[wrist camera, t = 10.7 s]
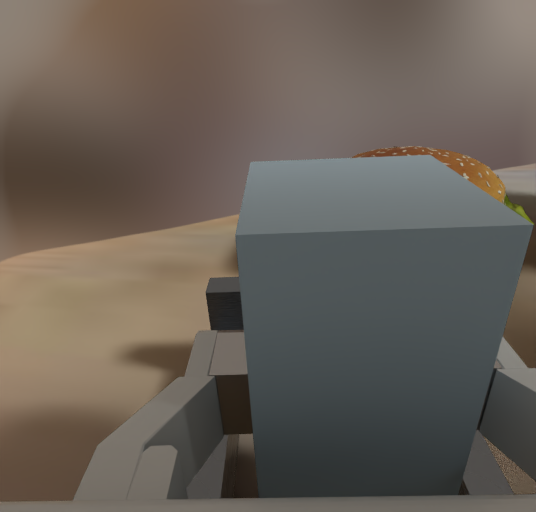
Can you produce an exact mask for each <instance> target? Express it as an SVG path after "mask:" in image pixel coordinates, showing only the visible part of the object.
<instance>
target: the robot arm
mask: <svg viewBox="0 0 536 512" xmlns="http://www.w3.org/2000/svg"><path fill="white" fill-rule="evenodd" d="M476 430H479V432H480V433H481V434H482V435H483V436H484V437H486V438H487V439H488V440H489V441H490V442H491V443H492V444H494V445H495V446H496V447H497V448H498V449H499V450H500V451H502V452H503V453H504V454H505V455H506V456H507V457H508V458H510V459H511V460H512V461H513V462H514V463H515V464H516V465H518V466H519V467H520V468H521V469H522V470H523V471H525V472H526V473H527V474H528V475H529V476H530V477H531V478H533V479H534V480H535V481H536V368H528V367H527V366H526V365H525V363H524V362H523V361H522V360H521V358H520V357H519V356H518V355H517V353H516V352H515V351H514V350H513V348H512V347H511V346H510V345H509V344H508V342H507V341H506V340H505V339H504V337H503V336H502V340H501V343H500V347H499V351H498V354H497V358H496V361H495V365H494V368H493V372H492V376H491V379H490V383H489V386H488V390H487V393H486V397H485V400H484V404H483V408H482V411H481V415H480V418H479V422H478V425H477V429H476ZM234 434H253V428H252V417H251V405H250V394H249V383H248V371H247V360H246V349H245V338H244V330H219V331H218V330H207V331H198V333H197V334H196V336H195V340H194V344H193V347H192V351H191V354H190V358H189V361H188V365H187V369H186V372H185V376H184V377H178V378H176V379H175V380H174V381H173V382H172V383H170V384H169V385H168V386H167V387H166V388H165V389H163V390H162V391H161V392H160V393H159V394H157V395H156V396H155V397H154V398H153V399H151V400H150V401H149V402H148V403H147V404H146V405H144V406H143V407H142V408H141V409H140V410H138V411H137V412H136V413H135V414H134V415H133V416H131V417H130V418H129V419H128V420H127V421H125V422H124V423H123V424H122V425H121V426H119V427H118V428H117V429H116V430H115V431H114V432H112V433H111V434H110V435H109V436H108V437H106V438H105V439H104V440H103V441H102V442H100V443H99V444H98V445H97V448H96V450H95V452H94V454H93V456H92V459H91V461H90V463H89V465H88V467H87V470H86V472H85V474H84V476H83V478H82V481H81V483H80V485H79V487H78V489H77V492H76V494H75V496H74V498H73V501H11V502H0V512H536V494H504V495H433V496H361V497H290V498H220V499H188V496H187V491H186V488H187V487H188V485H189V484H190V482H191V481H192V480H193V478H194V477H195V476H196V474H197V473H198V472H199V470H200V469H201V467H202V466H203V465H204V463H205V462H206V461H207V459H208V458H209V457H210V455H211V454H212V452H213V451H214V450H215V448H216V447H217V446H218V444H219V443H220V442H221V440H222V439H223V437H224V436H223V435H234Z"/></svg>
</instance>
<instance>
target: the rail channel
mask: <svg viewBox="0 0 536 512" xmlns="http://www.w3.org/2000/svg"><path fill="white" fill-rule="evenodd" d="M206 298H207V305H208V312H209V319H210V326H211V330H218V331H219V330H244V326H243V315H242V304H241V293H240V281H239V277H223V278H210V279H209V283H208V286H207V290H206ZM223 436H224V437H223V439H222V440H221V442H220V443H219V444H218V446H217V447H216V448H215V450H214V451H213V452H212V454H211V455H210V457H209V458H208V459H207V461H206V462H205V463H204V465H203V466H202V467H201V469H200V470H199V472H198V473H197V474H196V476H195V477H194V478H193V480H192V481H191V482H190V484H189V485H188V487H187V488H186V491H187V496H188V499H220V498H233V496H234V485H235V474H236V463H237V453H238V442H239V434H234V435H223ZM504 494H514V493H513V491H512V490H511V488H510V486H509V484H508V482H507V480H506V478H505V476H504V475H503V473H502V471H501V469H500V467H499V465H498V463H497V461H496V460H495V458H494V456H493V454H492V452H491V450H490V448H489V447H488V445H487V443H486V441H485V439H484V437H483V435H482V434H481V433H480V432H479V430H476V433H475V436H474V440H473V443H472V447H471V450H470V454H469V458H468V461H467V465H466V468H465V472H464V475H463V479H462V482H461V486H460V490H459V493H458V495H504Z"/></svg>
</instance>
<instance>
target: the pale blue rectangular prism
mask: <svg viewBox="0 0 536 512" xmlns="http://www.w3.org/2000/svg"><path fill="white" fill-rule="evenodd" d="M533 226H534V225H533V224H532V223H530V222H529V221H528V220H526V219H525V218H523V217H522V216H520V215H519V214H517V213H516V212H514V211H513V210H511V209H510V208H508V207H507V206H505V205H504V204H502V203H501V202H499V201H498V200H496V199H495V198H493V197H492V196H491V195H489V194H488V193H486V192H485V191H483V190H482V189H480V188H479V187H477V186H476V185H474V184H473V183H471V182H470V181H468V180H467V179H465V178H464V177H462V176H461V175H459V174H458V173H456V172H455V171H454V170H452V169H451V168H449V167H448V166H446V165H445V164H443V163H442V162H440V161H439V160H437V159H436V158H434V157H433V156H431V155H413V156H388V157H363V158H339V159H314V160H289V161H264V162H251V163H250V168H249V173H248V178H247V182H246V187H245V192H244V197H243V201H242V206H241V211H240V215H239V220H238V225H237V230H236V234H235V236H236V248H237V259H238V270H239V281H240V293H241V304H242V315H243V326H244V338H245V349H246V360H247V371H248V383H249V394H250V405H251V417H252V428H253V439H254V450H255V462H256V473H257V484H258V495H259V498H290V497H361V496H433V495H458V493H459V490H460V486H461V482H462V479H463V475H464V472H465V468H466V465H467V461H468V458H469V454H470V450H471V447H472V443H473V440H474V436H475V433H476V429H477V425H478V422H479V418H480V415H481V411H482V408H483V404H484V400H485V397H486V393H487V390H488V386H489V383H490V379H491V376H492V372H493V368H494V365H495V361H496V358H497V354H498V351H499V347H500V343H501V340H502V336H503V333H504V329H505V326H506V322H507V318H508V315H509V311H510V308H511V304H512V301H513V297H514V294H515V290H516V286H517V283H518V279H519V276H520V272H521V269H522V265H523V261H524V258H525V254H526V251H527V247H528V244H529V240H530V236H531V233H532V229H533Z"/></svg>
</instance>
